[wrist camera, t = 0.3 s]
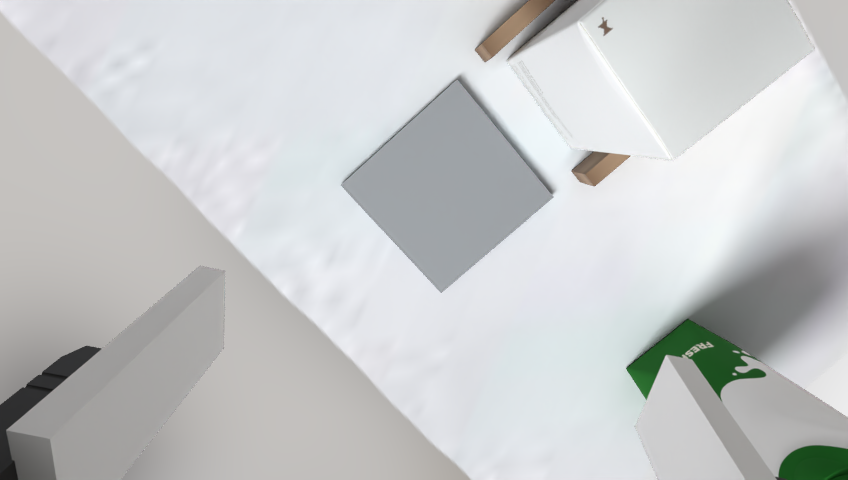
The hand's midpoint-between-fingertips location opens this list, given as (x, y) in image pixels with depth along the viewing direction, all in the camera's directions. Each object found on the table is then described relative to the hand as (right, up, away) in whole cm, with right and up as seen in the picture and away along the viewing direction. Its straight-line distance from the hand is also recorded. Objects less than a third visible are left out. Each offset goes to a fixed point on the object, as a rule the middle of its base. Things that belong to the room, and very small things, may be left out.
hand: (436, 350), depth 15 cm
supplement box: (+12, +16, +24) cm, 31 cm away
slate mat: (+2, +7, +25) cm, 26 cm away
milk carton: (+23, -8, +30) cm, 39 cm away
